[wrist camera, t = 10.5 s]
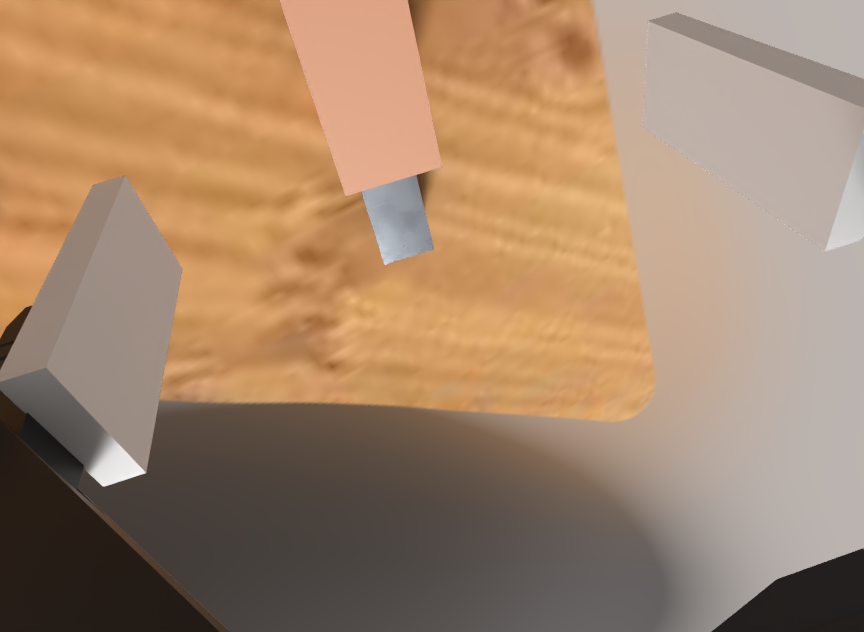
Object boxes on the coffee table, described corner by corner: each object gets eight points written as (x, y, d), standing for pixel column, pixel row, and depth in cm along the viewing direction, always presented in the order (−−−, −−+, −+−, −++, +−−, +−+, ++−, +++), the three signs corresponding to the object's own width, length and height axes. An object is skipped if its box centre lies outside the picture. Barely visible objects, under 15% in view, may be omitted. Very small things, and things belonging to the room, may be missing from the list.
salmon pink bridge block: (255, -90, 24) (253, -78, 18) (353, -117, 25) (384, -113, 18) (329, 131, 31) (345, 196, 25) (406, 108, 31) (442, 167, 25)
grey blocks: (194, -337, 20) (183, -369, 17) (277, -357, 20) (279, -393, 17) (375, 234, 35) (384, 264, 32) (421, 220, 35) (434, 249, 33)
